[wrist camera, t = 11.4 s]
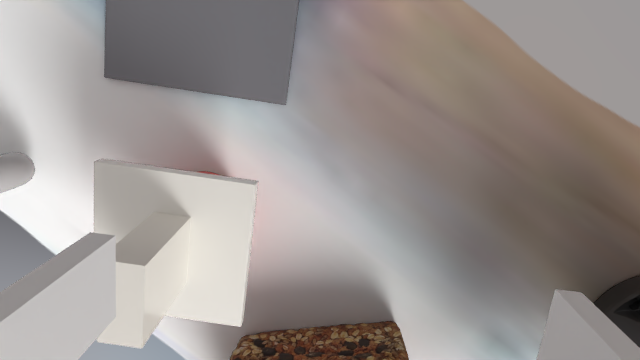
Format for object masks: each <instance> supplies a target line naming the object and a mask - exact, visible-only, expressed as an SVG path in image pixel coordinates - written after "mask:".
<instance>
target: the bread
mask: <svg viewBox="0 0 640 360" xmlns="http://www.w3.org/2000/svg"><path fill="white" fill-rule="evenodd" d="M230 360H409V359H408V354H407V351H406V347H405V345H404V341H403V338H402V334H401V332H400V329H399V327H398V326H397V324H396V323H395V322H392V321H385V322H380V323H359V324H356V325H350V324H341V325H338V326H330V327H320V328H319V327H313V328H309V329H308V328H302V329H299V330H298V331H295V330H292V329H289V330H281V331H272V332H263V333H259V334H256V335H246V336H244V337H242V338H241V339H240V340H239V343H238V346H237V348H236V349H235V350H234V351H233V352H232V356H231V357H230Z"/></svg>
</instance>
